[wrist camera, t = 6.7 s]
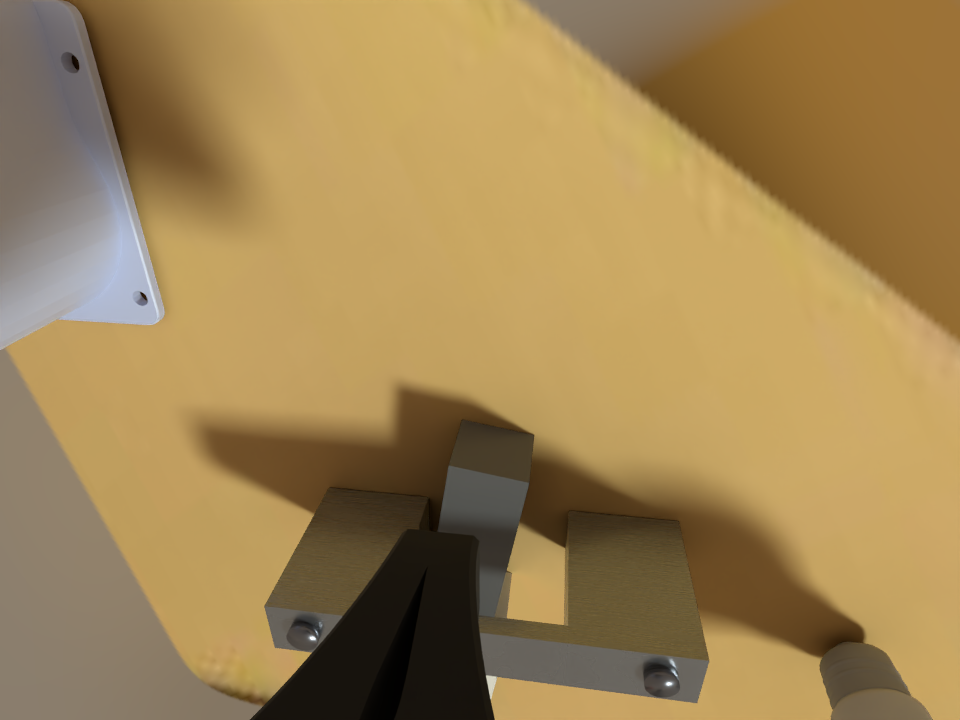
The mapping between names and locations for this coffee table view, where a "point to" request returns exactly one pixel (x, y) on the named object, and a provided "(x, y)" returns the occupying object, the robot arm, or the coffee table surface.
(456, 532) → the plug
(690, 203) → the coffee table surface
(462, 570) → the robot arm
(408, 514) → the gray u-shaped bracket
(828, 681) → the lightbulb
